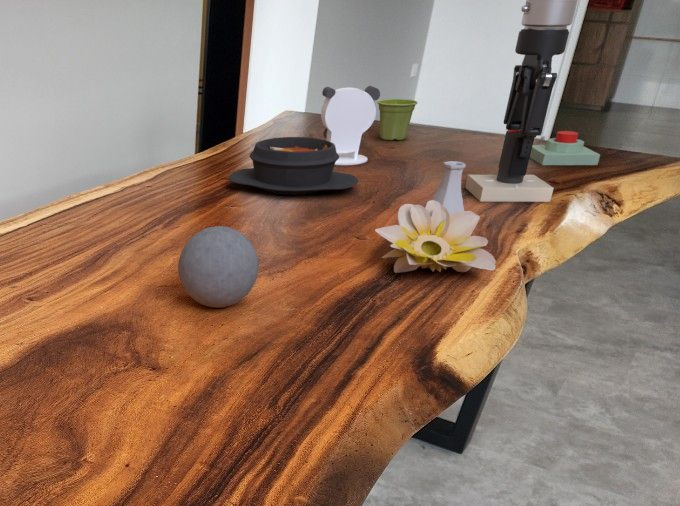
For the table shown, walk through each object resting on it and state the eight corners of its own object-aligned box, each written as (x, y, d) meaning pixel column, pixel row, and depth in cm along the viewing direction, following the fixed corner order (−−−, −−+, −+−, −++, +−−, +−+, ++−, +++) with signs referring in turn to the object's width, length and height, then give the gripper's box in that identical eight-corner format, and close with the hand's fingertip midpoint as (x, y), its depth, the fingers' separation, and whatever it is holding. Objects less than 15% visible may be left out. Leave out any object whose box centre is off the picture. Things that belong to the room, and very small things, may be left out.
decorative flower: (382, 277, 94) (395, 197, 91) (361, 267, 105) (372, 196, 102) (498, 284, 93) (515, 205, 90) (465, 274, 104) (479, 203, 101)
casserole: (361, 181, 145) (366, 137, 140) (351, 205, 130) (358, 157, 125) (239, 174, 152) (241, 132, 148) (217, 196, 137) (218, 150, 133)
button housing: (578, 155, 159) (583, 136, 157) (597, 165, 151) (603, 145, 148) (525, 155, 160) (530, 136, 158) (542, 165, 152) (547, 145, 150)
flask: (451, 218, 121) (463, 157, 116) (475, 230, 115) (489, 166, 110) (411, 221, 120) (421, 159, 115) (433, 234, 114) (445, 169, 109)
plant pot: (365, 139, 181) (370, 102, 176) (385, 133, 186) (390, 97, 182) (399, 143, 175) (404, 105, 170) (418, 137, 180) (424, 100, 176)
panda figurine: (361, 153, 167) (370, 83, 159) (377, 164, 157) (387, 89, 149) (310, 155, 166) (316, 84, 159) (322, 165, 157) (330, 91, 149)
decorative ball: (182, 322, 88) (182, 242, 83) (174, 291, 96) (174, 217, 91) (263, 318, 88) (268, 238, 83) (248, 288, 97) (252, 214, 91)
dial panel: (530, 187, 137) (534, 173, 135) (550, 202, 128) (554, 186, 127) (465, 187, 138) (467, 173, 137) (480, 201, 129) (483, 186, 128)
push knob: (571, 140, 155) (574, 130, 154) (578, 144, 152) (581, 134, 151) (551, 141, 156) (554, 131, 154) (558, 144, 152) (561, 134, 151)
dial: (518, 177, 133) (529, 127, 129) (526, 183, 130) (538, 132, 125) (493, 177, 134) (504, 128, 129) (500, 183, 130) (512, 132, 126)
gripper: (504, 25, 127) (476, 160, 139) (540, 31, 112) (505, 183, 124) (548, 24, 126) (516, 160, 138) (591, 30, 111) (551, 183, 123)
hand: (511, 171), depth 131 cm, fingers open, 5 cm apart
